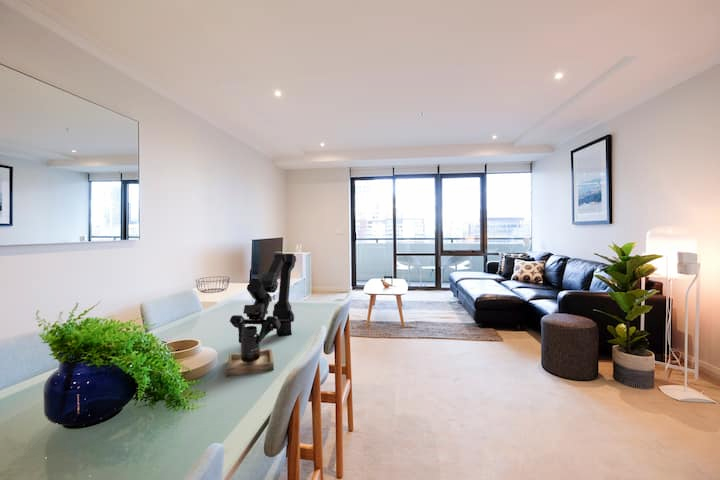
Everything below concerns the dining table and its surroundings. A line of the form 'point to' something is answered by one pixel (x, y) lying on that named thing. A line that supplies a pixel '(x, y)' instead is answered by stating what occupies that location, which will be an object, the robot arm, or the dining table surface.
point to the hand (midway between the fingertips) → (248, 343)
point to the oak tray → (249, 364)
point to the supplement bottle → (250, 344)
